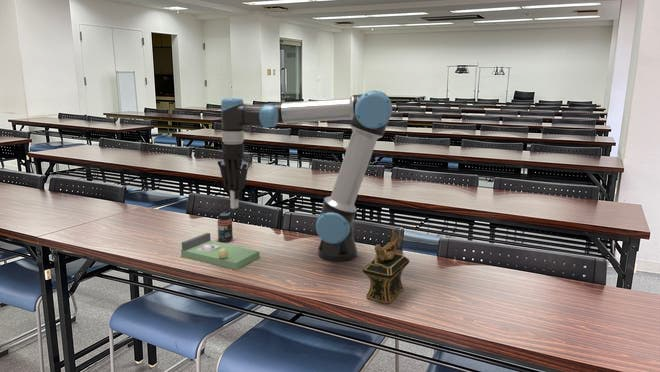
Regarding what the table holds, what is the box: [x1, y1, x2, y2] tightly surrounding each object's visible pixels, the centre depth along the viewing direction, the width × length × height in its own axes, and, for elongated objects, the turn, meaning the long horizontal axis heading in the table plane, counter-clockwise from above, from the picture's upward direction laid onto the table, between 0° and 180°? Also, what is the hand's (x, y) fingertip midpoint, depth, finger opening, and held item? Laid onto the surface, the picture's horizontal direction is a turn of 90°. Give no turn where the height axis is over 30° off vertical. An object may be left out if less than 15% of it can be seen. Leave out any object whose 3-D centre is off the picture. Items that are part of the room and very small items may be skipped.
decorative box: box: [362, 228, 410, 304], centre depth 148 cm, size 20×10×20 cm, turn 151°
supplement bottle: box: [217, 212, 234, 243], centre depth 194 cm, size 6×6×11 cm
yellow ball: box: [218, 248, 228, 258], centre depth 168 cm, size 4×4×4 cm
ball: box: [203, 245, 212, 250], centre depth 179 cm, size 4×4×4 cm
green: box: [180, 232, 261, 271], centre depth 176 cm, size 26×14×6 cm, turn 63°
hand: (234, 207), depth 169 cm, fingers closed
